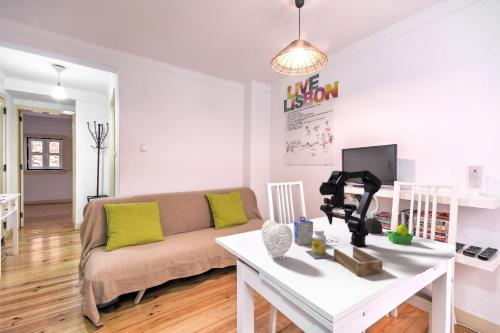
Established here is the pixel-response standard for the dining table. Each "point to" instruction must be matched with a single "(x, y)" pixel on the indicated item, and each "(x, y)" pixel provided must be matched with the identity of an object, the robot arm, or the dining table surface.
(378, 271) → the shelf bay
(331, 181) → the robot arm
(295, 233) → the ink cartridge box
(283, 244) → the decorative heart
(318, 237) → the pill bottle
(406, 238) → the fruit basket
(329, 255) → the coaster
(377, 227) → the hook
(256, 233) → the dining table surface
